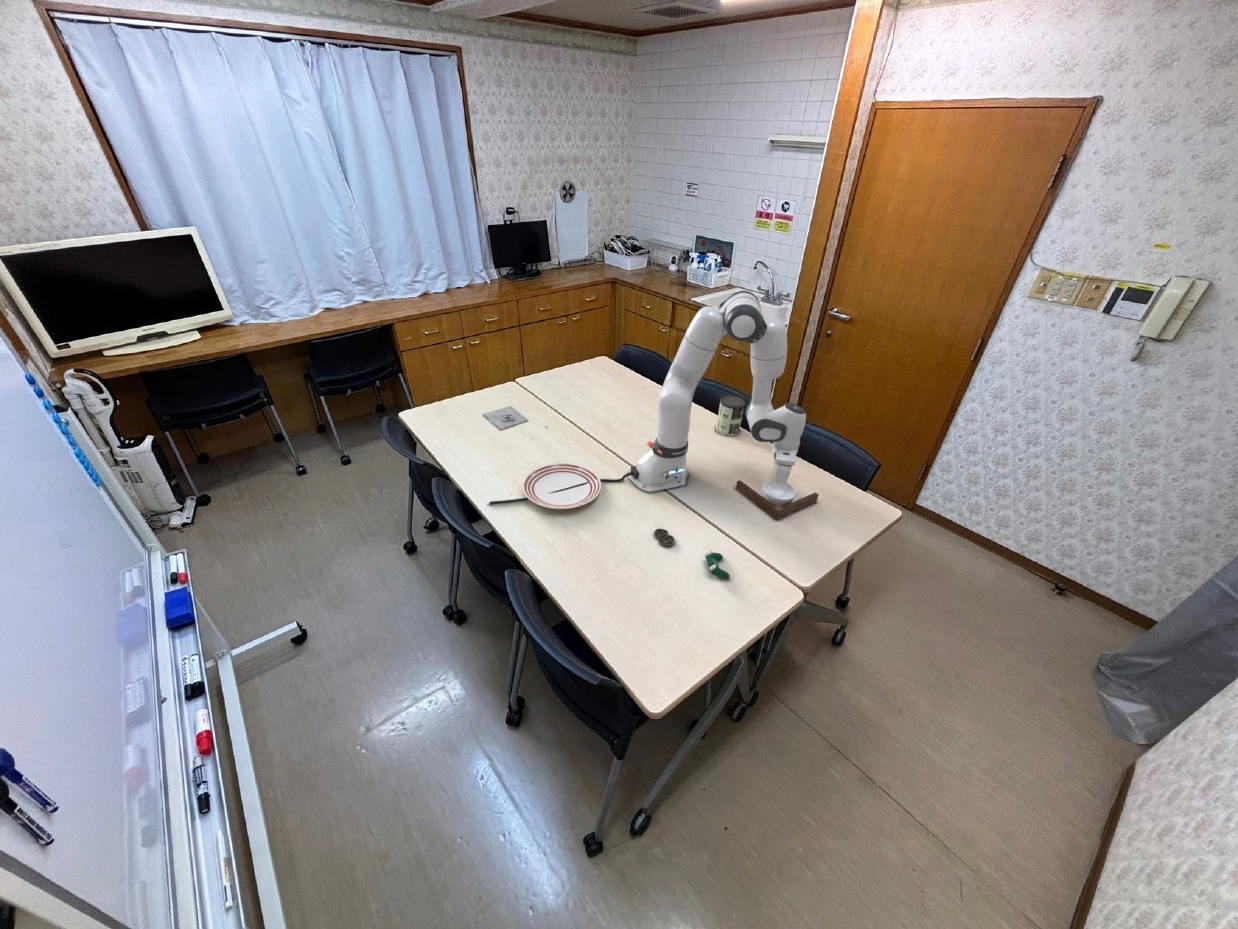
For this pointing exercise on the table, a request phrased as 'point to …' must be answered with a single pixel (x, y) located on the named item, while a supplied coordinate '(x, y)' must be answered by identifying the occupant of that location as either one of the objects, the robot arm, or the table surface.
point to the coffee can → (730, 415)
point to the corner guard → (769, 507)
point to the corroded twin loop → (664, 537)
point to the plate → (561, 486)
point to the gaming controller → (715, 564)
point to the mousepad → (505, 418)
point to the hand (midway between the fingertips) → (776, 479)
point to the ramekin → (778, 493)
